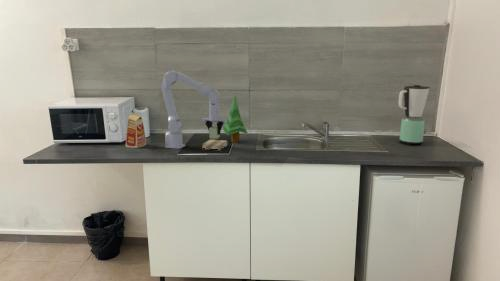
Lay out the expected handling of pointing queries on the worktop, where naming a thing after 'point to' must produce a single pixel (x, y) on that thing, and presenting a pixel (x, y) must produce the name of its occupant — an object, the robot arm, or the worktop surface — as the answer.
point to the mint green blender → (413, 114)
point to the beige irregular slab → (215, 144)
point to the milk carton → (135, 132)
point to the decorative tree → (234, 123)
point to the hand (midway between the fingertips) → (214, 134)
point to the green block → (213, 133)
